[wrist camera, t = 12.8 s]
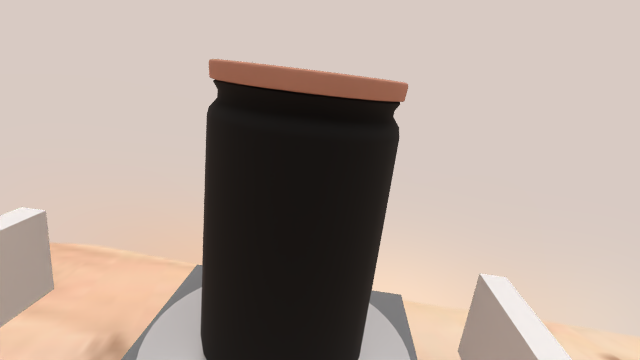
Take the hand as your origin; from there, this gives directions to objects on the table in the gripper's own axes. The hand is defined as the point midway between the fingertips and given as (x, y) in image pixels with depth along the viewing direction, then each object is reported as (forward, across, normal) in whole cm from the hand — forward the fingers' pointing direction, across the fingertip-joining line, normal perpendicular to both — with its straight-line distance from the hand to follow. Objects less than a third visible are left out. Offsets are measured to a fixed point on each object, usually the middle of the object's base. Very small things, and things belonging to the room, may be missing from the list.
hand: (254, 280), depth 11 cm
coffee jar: (+11, 0, -12) cm, 16 cm away
